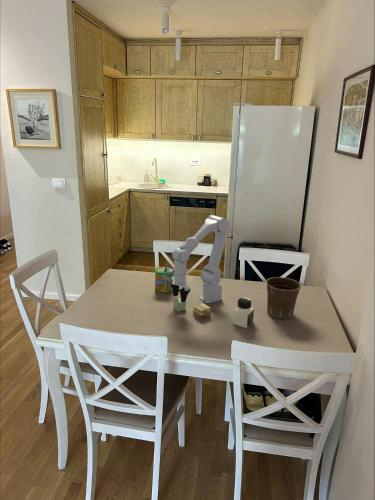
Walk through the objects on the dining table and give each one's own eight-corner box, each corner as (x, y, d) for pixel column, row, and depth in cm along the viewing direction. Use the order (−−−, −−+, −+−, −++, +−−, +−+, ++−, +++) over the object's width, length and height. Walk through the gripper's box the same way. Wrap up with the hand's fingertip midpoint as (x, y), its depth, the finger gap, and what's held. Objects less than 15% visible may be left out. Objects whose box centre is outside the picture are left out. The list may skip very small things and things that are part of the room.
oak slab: (202, 308, 177) (202, 303, 176) (210, 312, 173) (210, 307, 172) (193, 311, 174) (194, 306, 173) (201, 315, 170) (201, 310, 169)
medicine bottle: (247, 328, 163) (249, 304, 160) (232, 324, 167) (234, 300, 163) (253, 322, 169) (255, 298, 165) (239, 318, 173) (240, 294, 169)
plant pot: (274, 303, 189) (278, 274, 184) (303, 314, 178) (307, 283, 173) (256, 313, 178) (259, 282, 173) (285, 325, 167) (289, 293, 162)
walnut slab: (203, 312, 178) (203, 307, 177) (210, 317, 173) (210, 312, 172) (193, 315, 175) (193, 310, 175) (199, 320, 170) (199, 315, 170)
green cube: (181, 306, 183) (181, 297, 182) (185, 309, 179) (185, 301, 178) (173, 308, 181) (173, 299, 180) (177, 311, 177) (177, 303, 176)
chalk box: (159, 285, 207) (159, 260, 202) (174, 287, 205) (175, 262, 201) (154, 291, 198) (154, 266, 194) (170, 293, 197) (171, 268, 192)
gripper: (165, 269, 178) (165, 294, 182) (180, 279, 166) (179, 306, 171) (178, 267, 182) (177, 292, 186) (193, 277, 170) (192, 303, 174)
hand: (179, 298), depth 178 cm, fingers open, 7 cm apart
